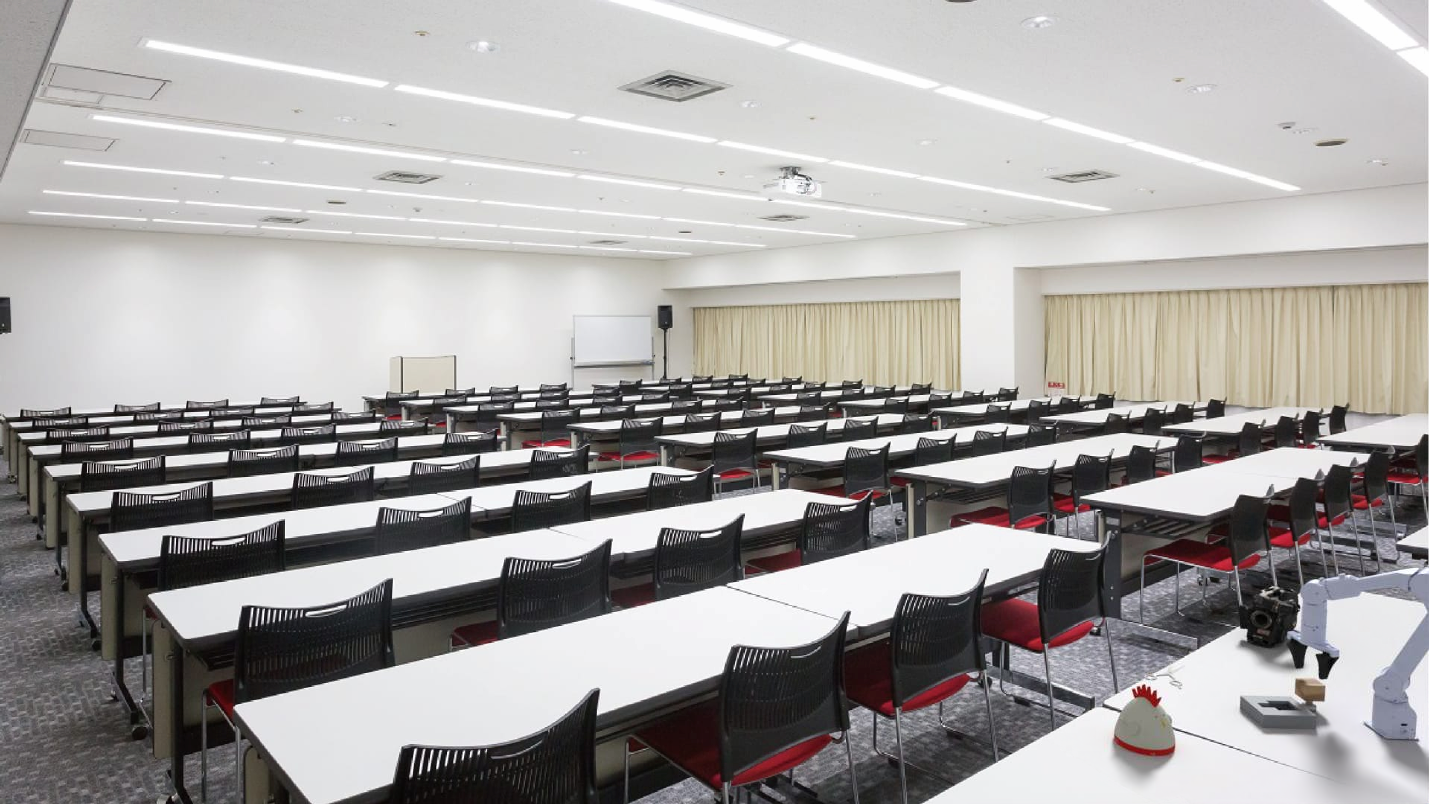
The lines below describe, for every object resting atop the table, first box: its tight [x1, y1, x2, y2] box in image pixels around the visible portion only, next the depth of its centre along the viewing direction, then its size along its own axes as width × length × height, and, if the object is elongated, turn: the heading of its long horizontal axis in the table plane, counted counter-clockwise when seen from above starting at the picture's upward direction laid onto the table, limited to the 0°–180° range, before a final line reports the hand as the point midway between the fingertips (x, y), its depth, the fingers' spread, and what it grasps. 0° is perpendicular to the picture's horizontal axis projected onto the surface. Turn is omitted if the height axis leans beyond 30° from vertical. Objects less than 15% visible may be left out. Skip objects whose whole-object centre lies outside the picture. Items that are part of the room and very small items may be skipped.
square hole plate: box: [1239, 695, 1318, 730], centre depth 241 cm, size 12×13×3 cm
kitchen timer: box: [1113, 684, 1176, 757], centre depth 227 cm, size 14×14×15 cm
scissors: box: [1144, 662, 1185, 690], centre depth 271 cm, size 11×1×20 cm
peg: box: [1294, 677, 1326, 712], centre depth 246 cm, size 5×5×8 cm
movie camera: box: [1238, 586, 1302, 648], centre depth 299 cm, size 31×18×18 cm, turn 128°
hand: (1310, 673), depth 245 cm, fingers open, 7 cm apart
